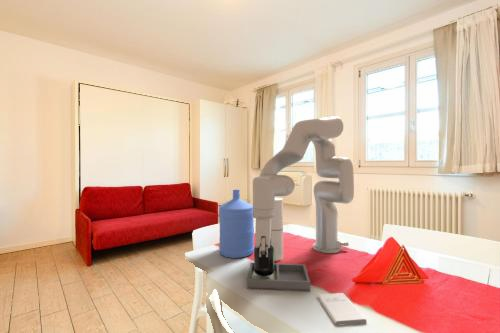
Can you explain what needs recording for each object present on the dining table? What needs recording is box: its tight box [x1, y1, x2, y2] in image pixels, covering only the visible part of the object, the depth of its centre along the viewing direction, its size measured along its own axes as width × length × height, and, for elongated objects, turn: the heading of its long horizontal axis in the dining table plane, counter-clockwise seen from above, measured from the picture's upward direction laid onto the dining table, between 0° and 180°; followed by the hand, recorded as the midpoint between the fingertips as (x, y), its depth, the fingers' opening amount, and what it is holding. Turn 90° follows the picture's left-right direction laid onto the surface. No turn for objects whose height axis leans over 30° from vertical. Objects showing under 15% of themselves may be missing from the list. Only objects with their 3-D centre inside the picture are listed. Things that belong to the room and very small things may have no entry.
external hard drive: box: [317, 292, 367, 326], centre depth 68 cm, size 2×8×12 cm
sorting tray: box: [246, 262, 311, 292], centre depth 85 cm, size 20×13×3 cm, turn 85°
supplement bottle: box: [253, 237, 275, 276], centre depth 85 cm, size 7×7×12 cm
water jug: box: [218, 189, 255, 259], centre depth 110 cm, size 16×16×28 cm
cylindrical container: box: [271, 197, 284, 262], centre depth 104 cm, size 7×7×25 cm
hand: (264, 263), depth 85 cm, fingers closed on supplement bottle, 6 cm apart
